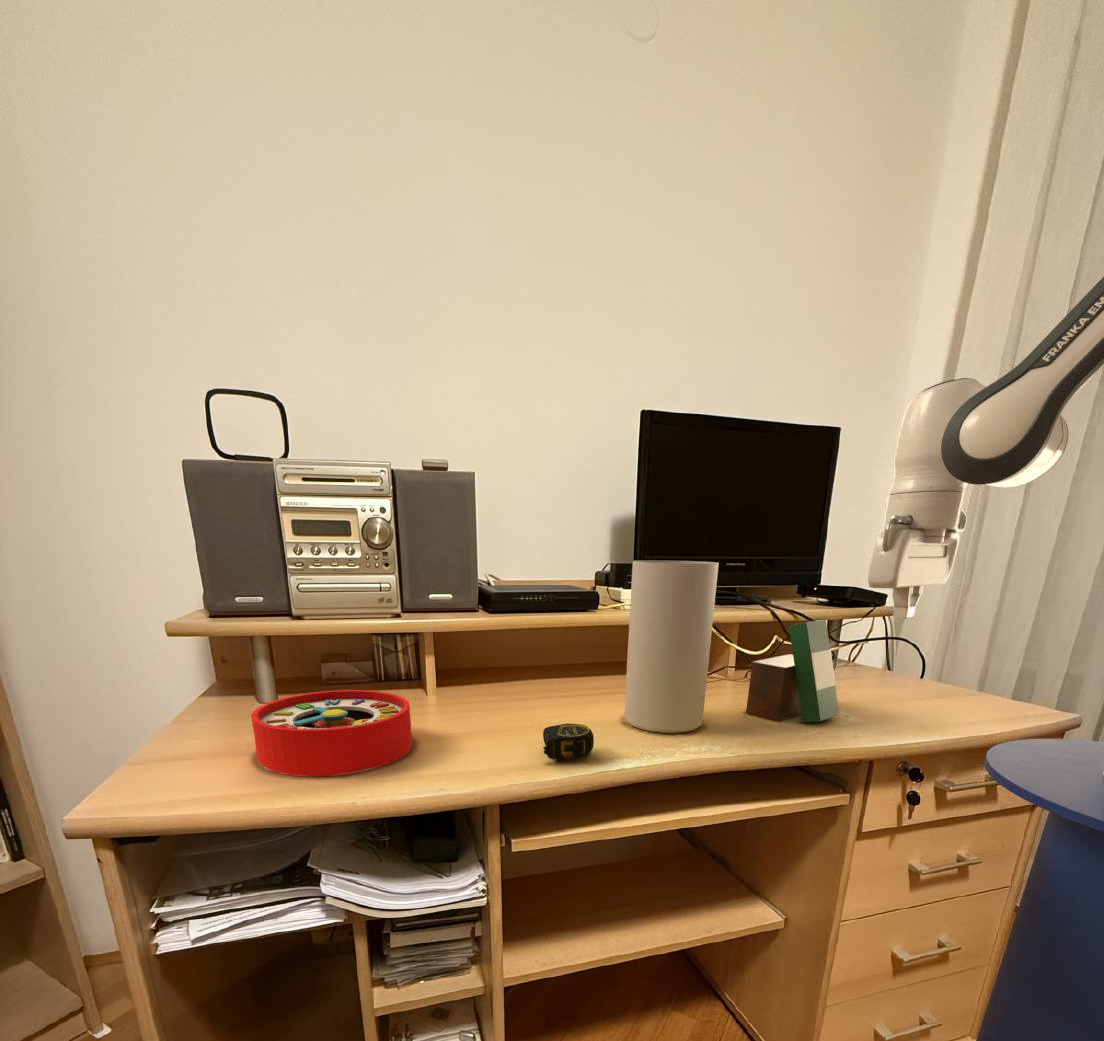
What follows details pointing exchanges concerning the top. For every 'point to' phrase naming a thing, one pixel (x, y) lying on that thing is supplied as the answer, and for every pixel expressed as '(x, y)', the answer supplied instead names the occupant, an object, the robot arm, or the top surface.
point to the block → (773, 689)
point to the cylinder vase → (669, 644)
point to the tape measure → (568, 741)
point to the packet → (814, 670)
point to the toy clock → (332, 732)
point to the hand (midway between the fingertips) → (903, 618)
